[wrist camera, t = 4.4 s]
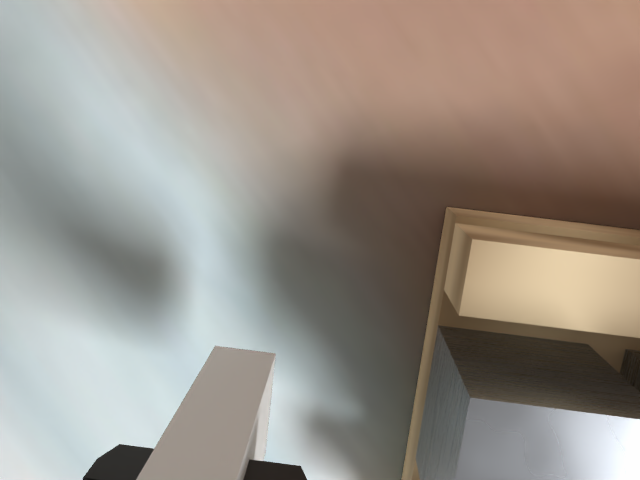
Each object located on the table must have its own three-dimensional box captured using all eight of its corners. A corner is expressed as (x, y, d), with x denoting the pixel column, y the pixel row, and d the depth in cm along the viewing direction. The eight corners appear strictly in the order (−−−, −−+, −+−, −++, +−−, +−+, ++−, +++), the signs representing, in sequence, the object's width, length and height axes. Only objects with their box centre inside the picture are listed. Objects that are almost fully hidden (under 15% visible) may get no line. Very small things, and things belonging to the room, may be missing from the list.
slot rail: (396, 513, 18) (407, 605, 14) (446, 206, 16) (473, 230, 12) (709, 555, 18) (797, 659, 14) (804, 250, 16) (933, 286, 12)
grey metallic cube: (415, 457, 16) (437, 568, 12) (438, 325, 15) (470, 397, 11) (557, 476, 16) (626, 593, 12) (587, 343, 15) (673, 423, 11)
